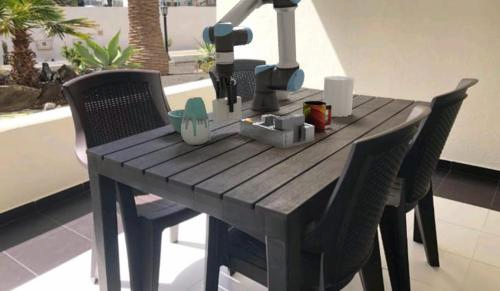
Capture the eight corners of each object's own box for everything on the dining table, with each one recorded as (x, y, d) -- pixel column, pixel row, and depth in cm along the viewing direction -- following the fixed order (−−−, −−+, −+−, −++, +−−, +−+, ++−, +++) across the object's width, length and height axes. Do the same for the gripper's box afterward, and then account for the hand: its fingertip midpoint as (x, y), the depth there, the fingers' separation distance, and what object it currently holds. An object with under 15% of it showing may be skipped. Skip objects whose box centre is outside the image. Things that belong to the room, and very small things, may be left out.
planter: (292, 102, 235) (292, 75, 230) (262, 102, 235) (262, 75, 231) (289, 96, 251) (290, 71, 247) (262, 96, 251) (262, 71, 247)
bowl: (191, 124, 186) (190, 107, 184) (213, 131, 175) (212, 112, 173) (161, 131, 176) (160, 112, 173) (183, 138, 165) (182, 118, 162)
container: (339, 118, 197) (341, 81, 192) (316, 113, 208) (318, 78, 202) (357, 113, 207) (359, 78, 201) (334, 109, 217) (336, 75, 211)
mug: (330, 127, 181) (332, 100, 178) (320, 134, 170) (321, 106, 166) (310, 124, 186) (311, 98, 182) (298, 131, 174) (299, 104, 171)
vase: (178, 140, 162) (175, 95, 157) (206, 137, 166) (204, 93, 161) (185, 148, 152) (183, 101, 147) (215, 144, 156) (214, 98, 151)
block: (213, 121, 171) (212, 100, 168) (236, 116, 178) (235, 95, 175) (218, 123, 168) (217, 101, 165) (241, 117, 175) (241, 97, 172)
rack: (239, 133, 171) (238, 110, 168) (269, 127, 181) (269, 104, 178) (283, 148, 151) (284, 122, 148) (314, 140, 161) (315, 115, 158)
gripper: (205, 61, 169) (208, 116, 177) (230, 65, 157) (232, 124, 164) (220, 60, 174) (222, 113, 181) (245, 63, 161) (246, 120, 168)
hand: (227, 118), depth 172 cm, fingers closed on block, 4 cm apart
